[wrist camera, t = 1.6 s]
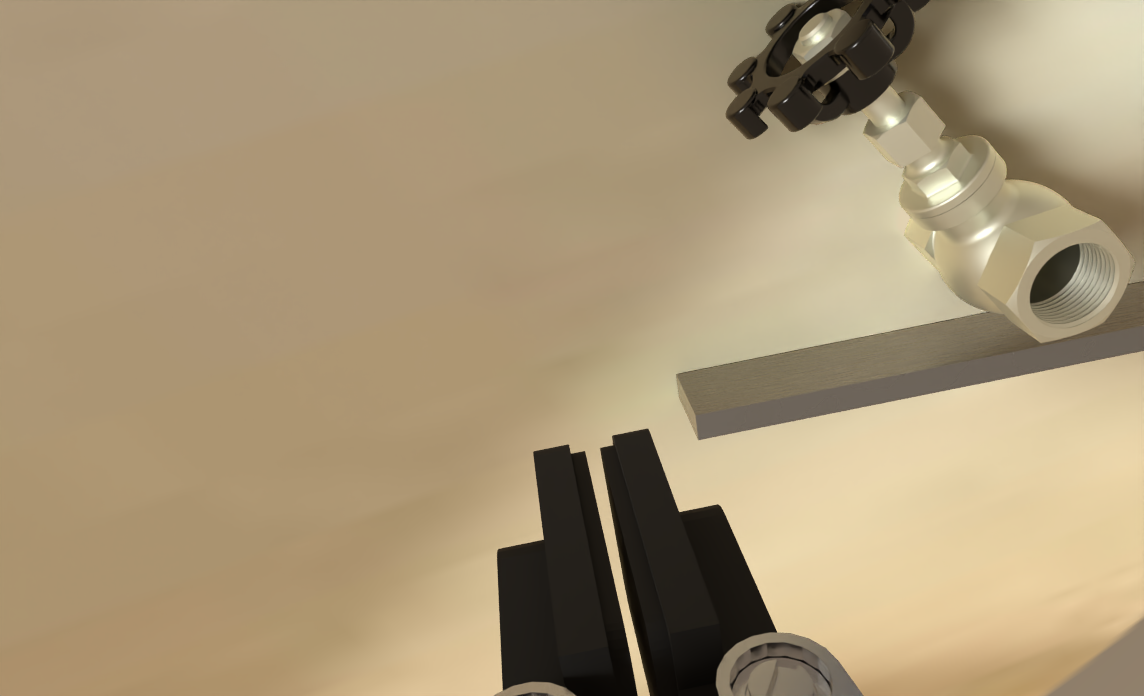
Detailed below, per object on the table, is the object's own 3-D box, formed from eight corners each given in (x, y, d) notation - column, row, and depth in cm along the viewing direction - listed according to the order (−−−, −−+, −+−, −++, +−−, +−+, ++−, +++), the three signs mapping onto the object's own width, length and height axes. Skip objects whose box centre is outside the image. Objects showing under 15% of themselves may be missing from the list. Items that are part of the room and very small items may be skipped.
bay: (1552, -285, 25) (1683, -313, 22) (1395, 254, 32) (1479, 283, 30) (615, -112, 24) (633, -118, 21) (679, 397, 32) (698, 440, 29)
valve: (1061, 185, 30) (853, -73, 25) (1208, 246, 24) (969, -76, 20) (916, 317, 31) (697, 97, 27) (1019, 405, 26) (760, 141, 21)
